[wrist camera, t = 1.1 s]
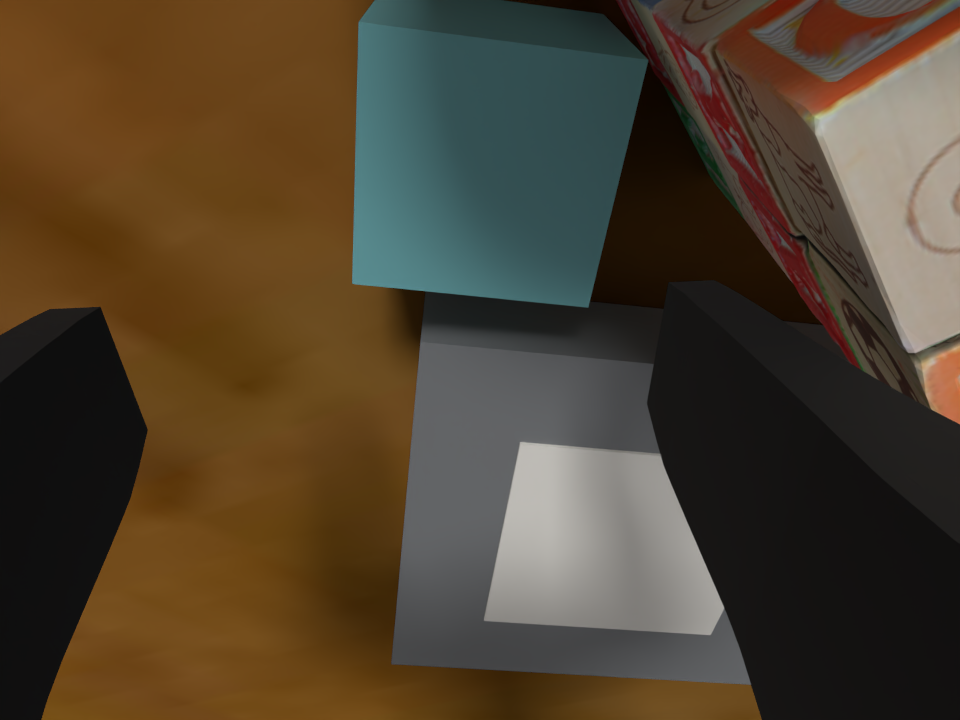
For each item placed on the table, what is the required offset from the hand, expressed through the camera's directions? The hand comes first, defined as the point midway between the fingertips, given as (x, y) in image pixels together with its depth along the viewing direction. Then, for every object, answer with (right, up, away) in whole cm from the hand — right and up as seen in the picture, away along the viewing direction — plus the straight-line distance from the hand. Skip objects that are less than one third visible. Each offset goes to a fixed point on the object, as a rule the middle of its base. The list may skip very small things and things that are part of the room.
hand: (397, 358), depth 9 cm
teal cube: (+1, +6, +8) cm, 10 cm away
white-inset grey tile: (+6, -4, +15) cm, 17 cm away
